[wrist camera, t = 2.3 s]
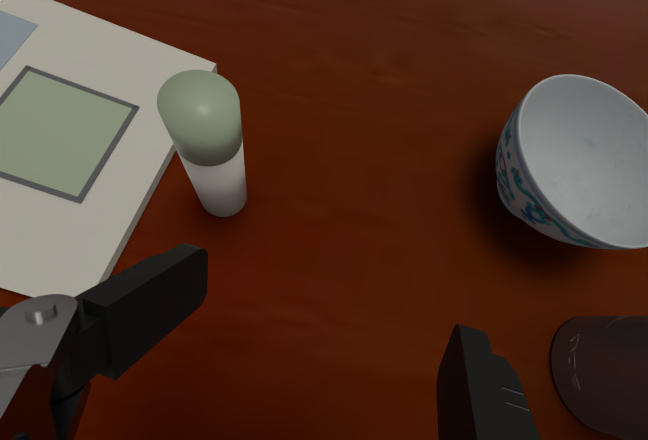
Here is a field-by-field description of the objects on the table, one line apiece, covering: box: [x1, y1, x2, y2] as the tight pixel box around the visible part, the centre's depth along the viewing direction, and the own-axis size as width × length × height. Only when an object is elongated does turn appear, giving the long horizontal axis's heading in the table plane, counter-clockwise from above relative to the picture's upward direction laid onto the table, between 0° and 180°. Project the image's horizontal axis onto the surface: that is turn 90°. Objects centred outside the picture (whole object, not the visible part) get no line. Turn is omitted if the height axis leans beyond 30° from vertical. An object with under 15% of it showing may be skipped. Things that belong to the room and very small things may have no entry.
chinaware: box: [496, 75, 648, 249], centre depth 29 cm, size 15×15×8 cm
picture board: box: [0, 0, 217, 297], centre depth 24 cm, size 20×22×1 cm
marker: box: [157, 70, 247, 217], centre depth 20 cm, size 4×4×12 cm
